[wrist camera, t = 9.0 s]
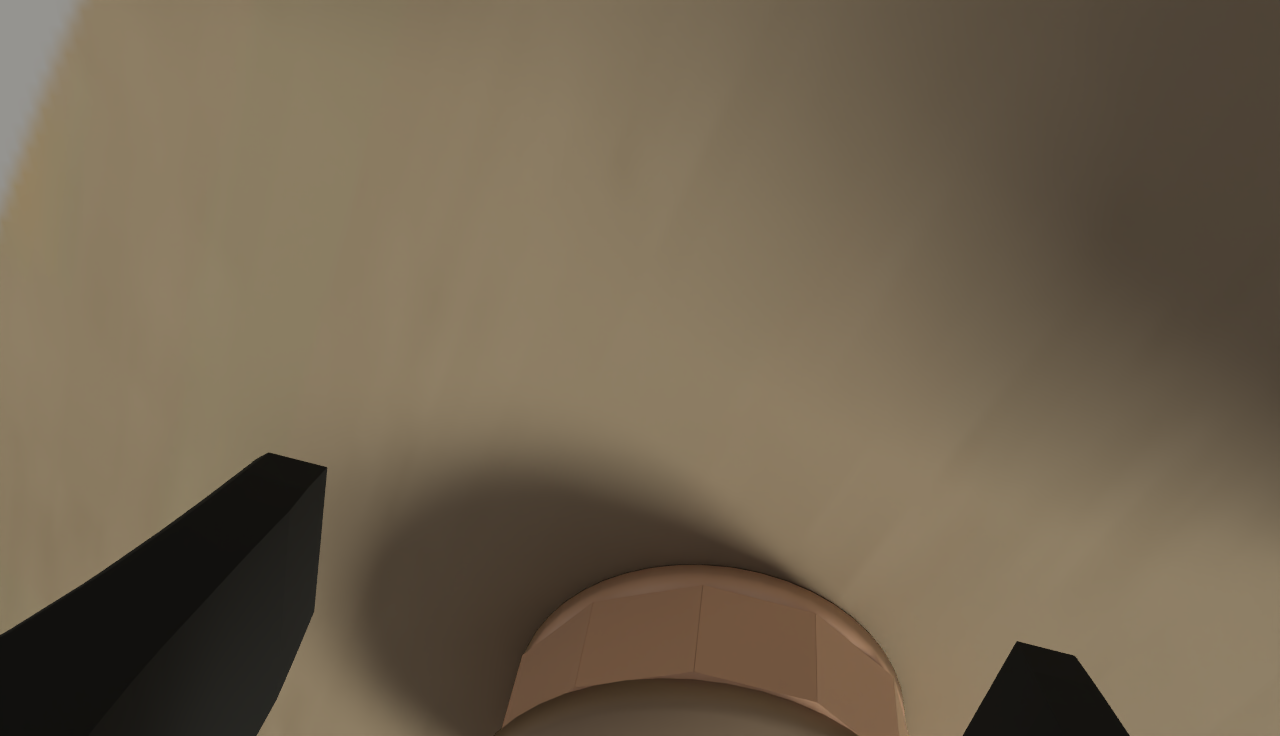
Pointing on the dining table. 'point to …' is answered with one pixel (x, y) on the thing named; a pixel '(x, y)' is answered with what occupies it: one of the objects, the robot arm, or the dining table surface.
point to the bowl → (714, 644)
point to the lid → (671, 712)
